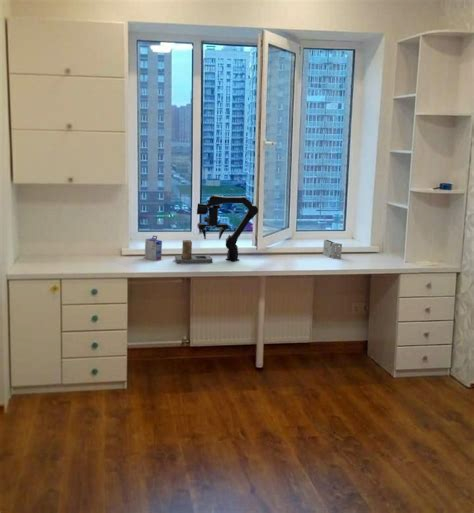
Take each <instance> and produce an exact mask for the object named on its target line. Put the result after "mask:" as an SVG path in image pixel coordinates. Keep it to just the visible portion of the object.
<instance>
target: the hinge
mask: <svg viewBox="0 0 474 513" xmlns="http://www.w3.org/2000/svg"><path fill="white" fill-rule="evenodd" d="M322 248H323V250H322V255H323V256H326V257H328V258H330V259H342V250H343V243H341V242H340V243H339V242H335V241H332V240H330V239H324V240H323V247H322Z"/></svg>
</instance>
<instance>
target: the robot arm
mask: <svg viewBox="0 0 474 513" xmlns="http://www.w3.org/2000/svg"><path fill="white" fill-rule="evenodd" d="M221 204H243V205H244V207H245V208H246V209H247V210H246V213H245V215H244V217H243V218H242V220H241V222H240V223H239V224H238V225H237V227H236V229H235V231H234V232H233V233H232V234H228V236H227V238H226V239H225V248H226V249H228V250H227V252H226V254H227V256H226V257H227V258H225V260H226V261H229V262H237V261H240V259H239V248H238V247H239V246H238V245H237V242H238V239H239V237H240V236H241V234H242V233H243V231H244V230H245V228H246V226H247V225H248V224H249V222H250V221H251V220H252V219H253V218H254V217H255V216H256V215H258V213H259V209H258V205H257V204H254V203H252V202H251V201H250V200H249V199H248V198H247V196H242V195H241V196H224V195H219V194H211V195H210V196H209V200H208V201H206V203H197V206H196V207H197V208H196V215H203V216H204V218H203V222H198V223H197V226H196V227H197V229H198V230H200V231H201V233H202V234H203V238H204V240H206V239H207V238H206V236H207V234H206V228H219V234H218V240H221V238H222V235H223V234H224V233H225V231H227V230H229V225H228V224H227V223H226V222H221V223H220V224H219V223H218V221H219V220H218V219H219V209H222V206H221ZM207 214H208V217H207V216H205V215H207ZM205 223H206V224H205Z"/></svg>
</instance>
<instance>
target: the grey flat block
mask: <svg viewBox="0 0 474 513" xmlns="http://www.w3.org/2000/svg"><path fill="white" fill-rule="evenodd" d="M174 260H175V262H176V263H177V264H213V257H212V256H211V255H209V254H206V255H204V254H203V255H201V254H200V255H199V254H197V255H196V254H195V255H191V259H182V255H175V258H174Z"/></svg>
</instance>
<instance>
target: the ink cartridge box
mask: <svg viewBox="0 0 474 513" xmlns="http://www.w3.org/2000/svg"><path fill="white" fill-rule="evenodd" d="M144 243H145V244H144V258H145V259H147V260H151V261H155V262H156V261H161V260H162V254H163V253H162V247H163V241H162V240H160V239H158V235H152V237H151V238H145V242H144Z"/></svg>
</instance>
